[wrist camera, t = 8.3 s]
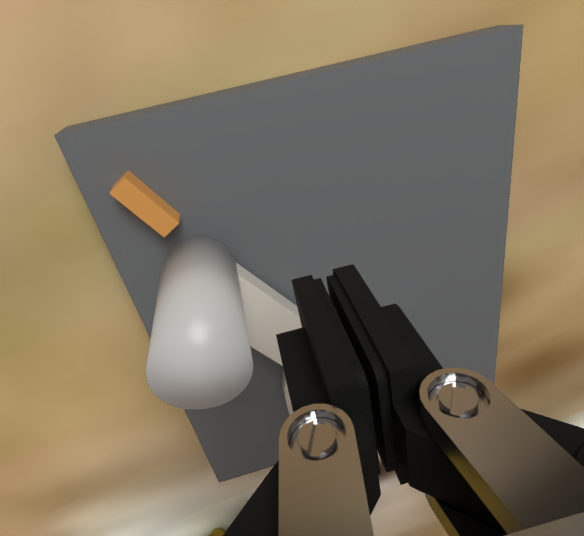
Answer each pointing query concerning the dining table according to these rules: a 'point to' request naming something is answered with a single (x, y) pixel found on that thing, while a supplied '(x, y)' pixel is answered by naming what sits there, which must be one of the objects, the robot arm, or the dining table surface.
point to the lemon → (217, 532)
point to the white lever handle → (212, 326)
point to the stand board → (323, 200)
